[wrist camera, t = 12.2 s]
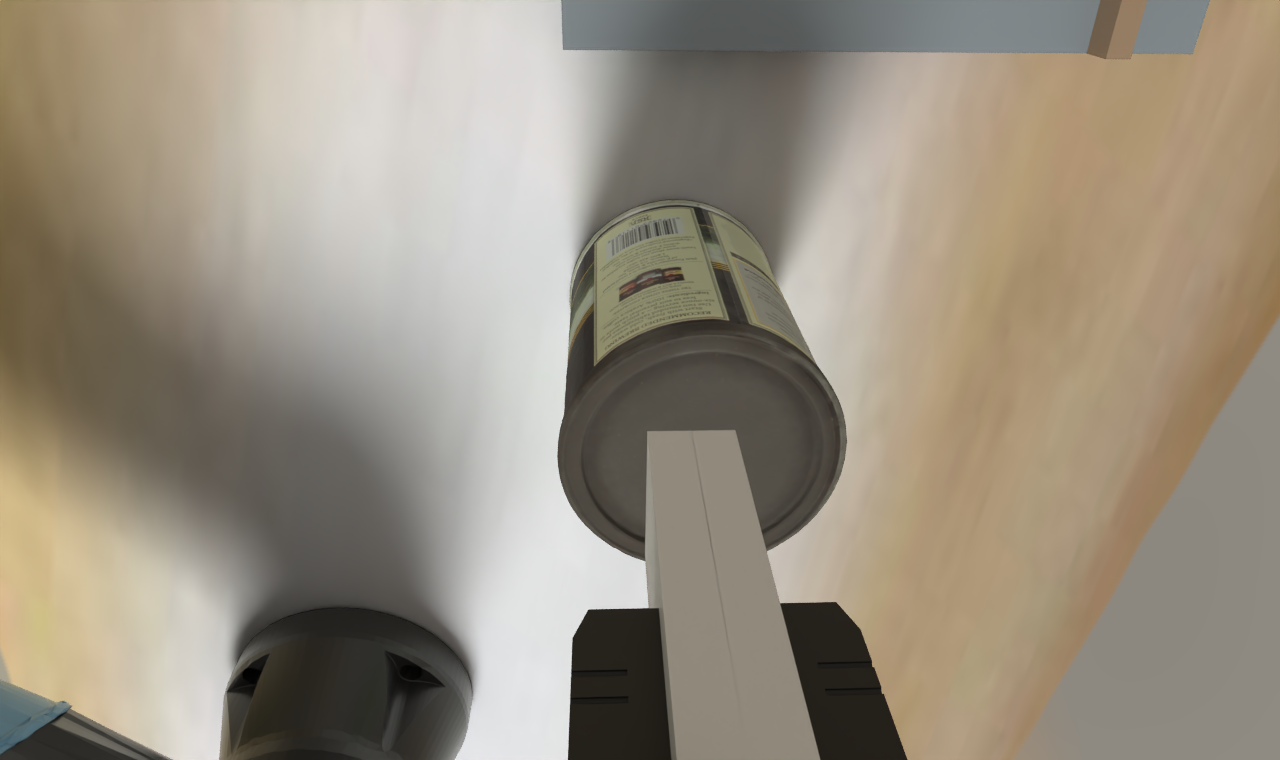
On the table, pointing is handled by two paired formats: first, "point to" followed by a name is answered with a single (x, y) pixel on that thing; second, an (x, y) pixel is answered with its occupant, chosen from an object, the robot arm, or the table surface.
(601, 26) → the deck
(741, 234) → the coffee can
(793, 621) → the robot arm
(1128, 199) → the table surface
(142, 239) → the table surface
